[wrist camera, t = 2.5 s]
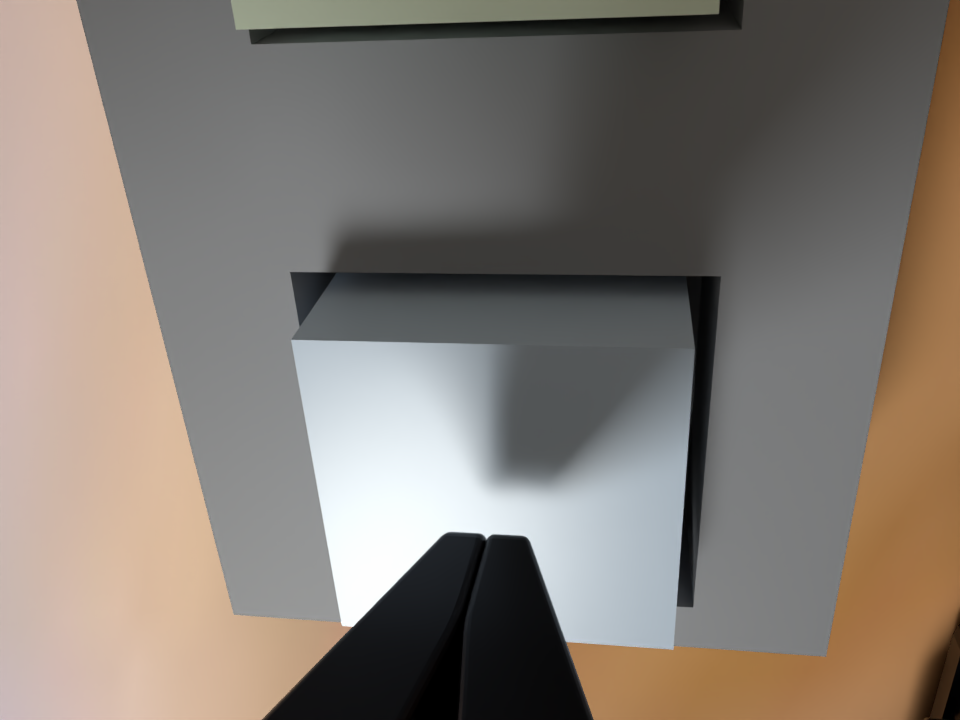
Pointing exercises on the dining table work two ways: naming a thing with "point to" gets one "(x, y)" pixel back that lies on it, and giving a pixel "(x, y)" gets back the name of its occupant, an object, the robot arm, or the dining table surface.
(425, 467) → the slate blue button
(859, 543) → the dining table surface
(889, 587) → the dining table surface
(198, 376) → the button panel
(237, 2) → the sage button
